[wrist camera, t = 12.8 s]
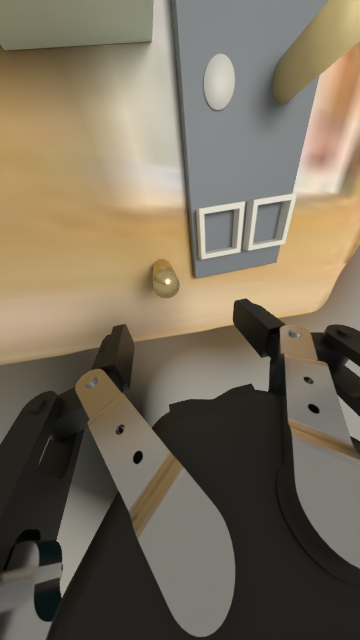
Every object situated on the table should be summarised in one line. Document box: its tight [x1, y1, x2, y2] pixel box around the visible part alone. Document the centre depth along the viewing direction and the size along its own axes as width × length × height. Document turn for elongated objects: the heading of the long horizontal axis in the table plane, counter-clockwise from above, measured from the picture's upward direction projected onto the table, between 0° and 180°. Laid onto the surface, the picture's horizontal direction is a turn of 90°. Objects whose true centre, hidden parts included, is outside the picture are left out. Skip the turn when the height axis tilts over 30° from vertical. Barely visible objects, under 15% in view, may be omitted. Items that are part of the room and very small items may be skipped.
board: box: [171, 0, 360, 278], centre depth 16 cm, size 14×24×8 cm, turn 8°
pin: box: [153, 259, 179, 298], centre depth 20 cm, size 3×3×8 cm
